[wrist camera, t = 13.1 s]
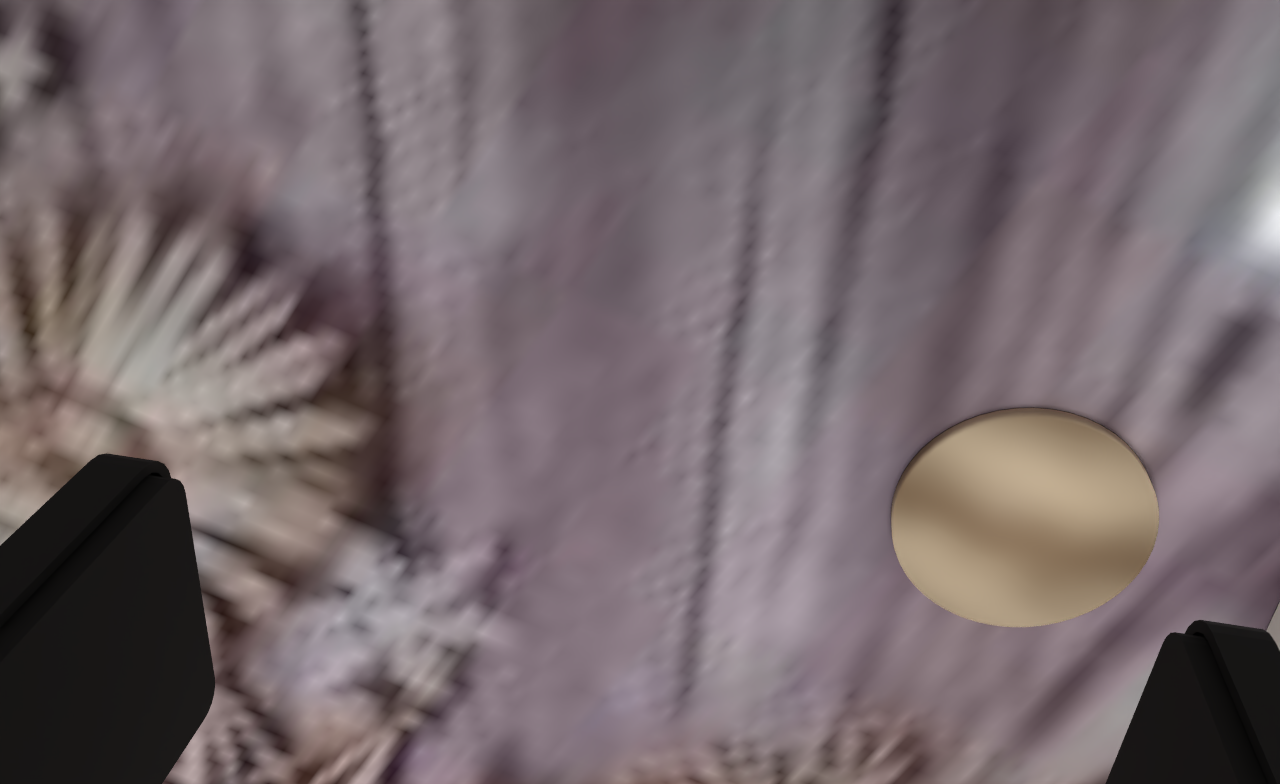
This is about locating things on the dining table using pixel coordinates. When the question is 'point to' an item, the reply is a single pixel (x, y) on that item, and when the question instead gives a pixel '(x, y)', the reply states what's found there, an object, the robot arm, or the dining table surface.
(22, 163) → the dining table surface
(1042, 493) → the cork trivet
